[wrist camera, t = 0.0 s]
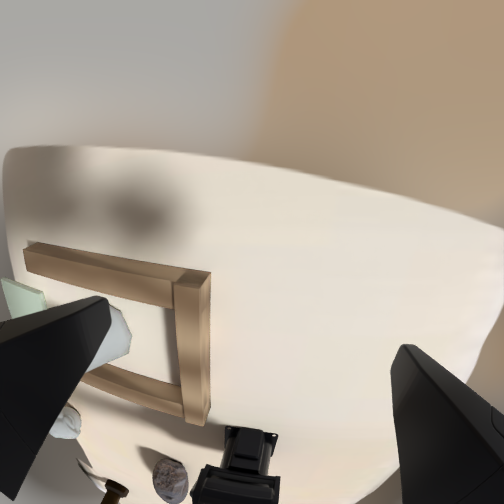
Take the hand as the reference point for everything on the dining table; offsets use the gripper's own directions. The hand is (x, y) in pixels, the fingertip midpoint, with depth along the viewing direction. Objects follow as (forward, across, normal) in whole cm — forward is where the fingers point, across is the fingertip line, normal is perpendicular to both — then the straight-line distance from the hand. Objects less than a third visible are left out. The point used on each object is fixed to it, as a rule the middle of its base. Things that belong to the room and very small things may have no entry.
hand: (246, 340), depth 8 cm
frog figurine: (+14, +31, +36) cm, 50 cm away
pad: (+14, +32, +16) cm, 39 cm away
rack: (+14, +16, +13) cm, 25 cm away
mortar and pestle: (+14, +32, +74) cm, 82 cm away
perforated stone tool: (+14, +11, +45) cm, 49 cm away
